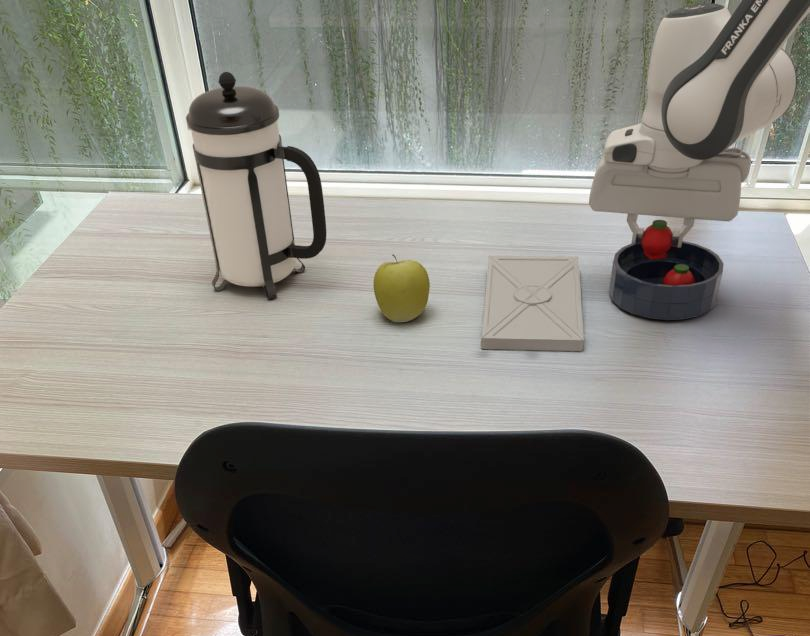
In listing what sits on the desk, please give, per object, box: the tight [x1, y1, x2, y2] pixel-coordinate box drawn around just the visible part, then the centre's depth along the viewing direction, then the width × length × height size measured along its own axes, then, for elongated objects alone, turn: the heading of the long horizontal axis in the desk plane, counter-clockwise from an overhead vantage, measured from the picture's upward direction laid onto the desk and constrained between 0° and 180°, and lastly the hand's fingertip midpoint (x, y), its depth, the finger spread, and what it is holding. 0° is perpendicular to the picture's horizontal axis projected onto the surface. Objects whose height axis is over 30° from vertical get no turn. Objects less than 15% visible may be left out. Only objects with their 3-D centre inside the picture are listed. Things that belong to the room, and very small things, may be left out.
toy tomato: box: [663, 264, 695, 285], centre depth 125 cm, size 4×4×5 cm
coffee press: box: [185, 71, 327, 300], centre depth 128 cm, size 17×16×30 cm
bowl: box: [608, 240, 725, 321], centre depth 127 cm, size 15×15×6 cm
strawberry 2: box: [642, 219, 673, 260], centre depth 125 cm, size 4×4×5 cm
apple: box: [373, 254, 431, 323], centre depth 125 cm, size 8×8×10 cm
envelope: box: [480, 255, 584, 352], centre depth 127 cm, size 24×2×14 cm
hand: (656, 244), depth 126 cm, fingers closed on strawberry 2, 4 cm apart
